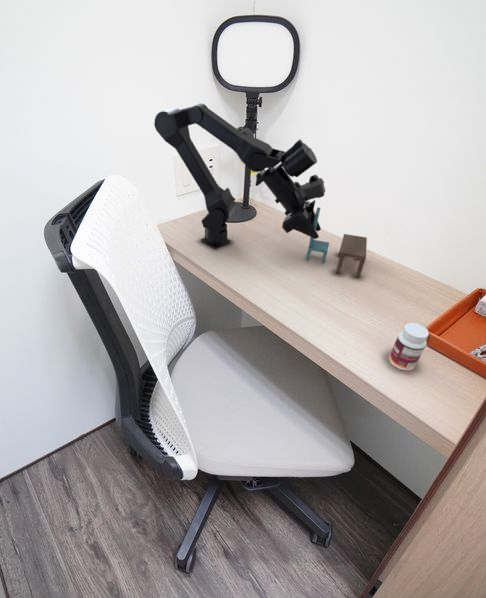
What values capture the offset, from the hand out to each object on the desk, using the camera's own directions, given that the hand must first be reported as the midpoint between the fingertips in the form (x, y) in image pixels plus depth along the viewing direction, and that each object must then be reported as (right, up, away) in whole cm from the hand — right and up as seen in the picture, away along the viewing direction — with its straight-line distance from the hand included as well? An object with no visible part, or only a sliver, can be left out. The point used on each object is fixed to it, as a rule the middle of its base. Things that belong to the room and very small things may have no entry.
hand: (318, 234), depth 96 cm
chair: (+1, -6, +4) cm, 7 cm away
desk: (+9, -8, +2) cm, 12 cm away
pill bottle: (+8, -30, -26) cm, 40 cm away
